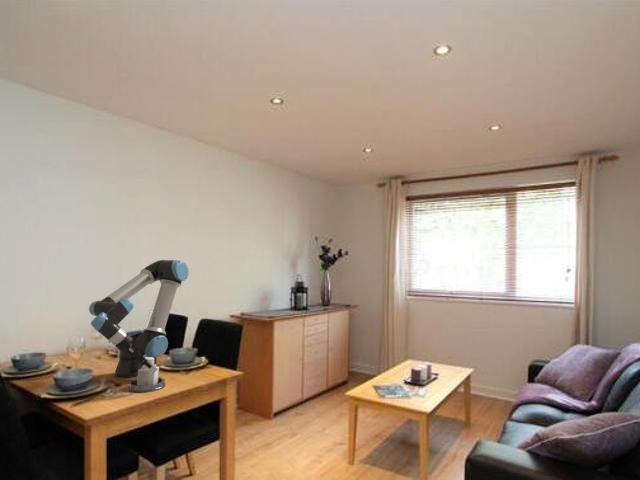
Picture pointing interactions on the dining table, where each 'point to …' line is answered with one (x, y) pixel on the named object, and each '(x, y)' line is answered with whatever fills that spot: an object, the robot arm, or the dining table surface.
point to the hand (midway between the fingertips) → (154, 367)
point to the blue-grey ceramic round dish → (148, 388)
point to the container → (147, 374)
